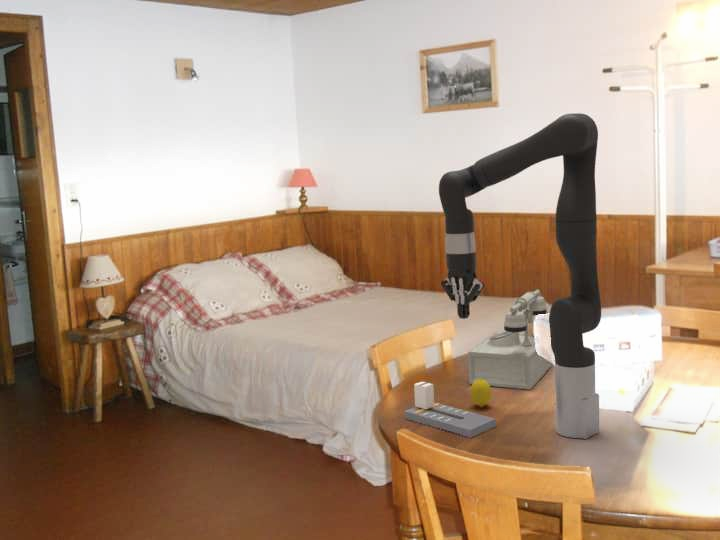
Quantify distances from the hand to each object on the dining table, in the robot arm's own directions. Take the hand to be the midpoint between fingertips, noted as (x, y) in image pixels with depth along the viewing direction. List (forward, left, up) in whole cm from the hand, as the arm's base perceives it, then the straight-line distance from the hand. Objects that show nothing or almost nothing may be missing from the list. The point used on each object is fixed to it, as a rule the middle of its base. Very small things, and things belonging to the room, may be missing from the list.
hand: (463, 317), depth 209 cm
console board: (0, +7, -26) cm, 27 cm away
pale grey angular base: (+12, -37, -26) cm, 47 cm away
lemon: (+1, -7, -26) cm, 27 cm away
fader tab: (+9, +7, -24) cm, 26 cm away
